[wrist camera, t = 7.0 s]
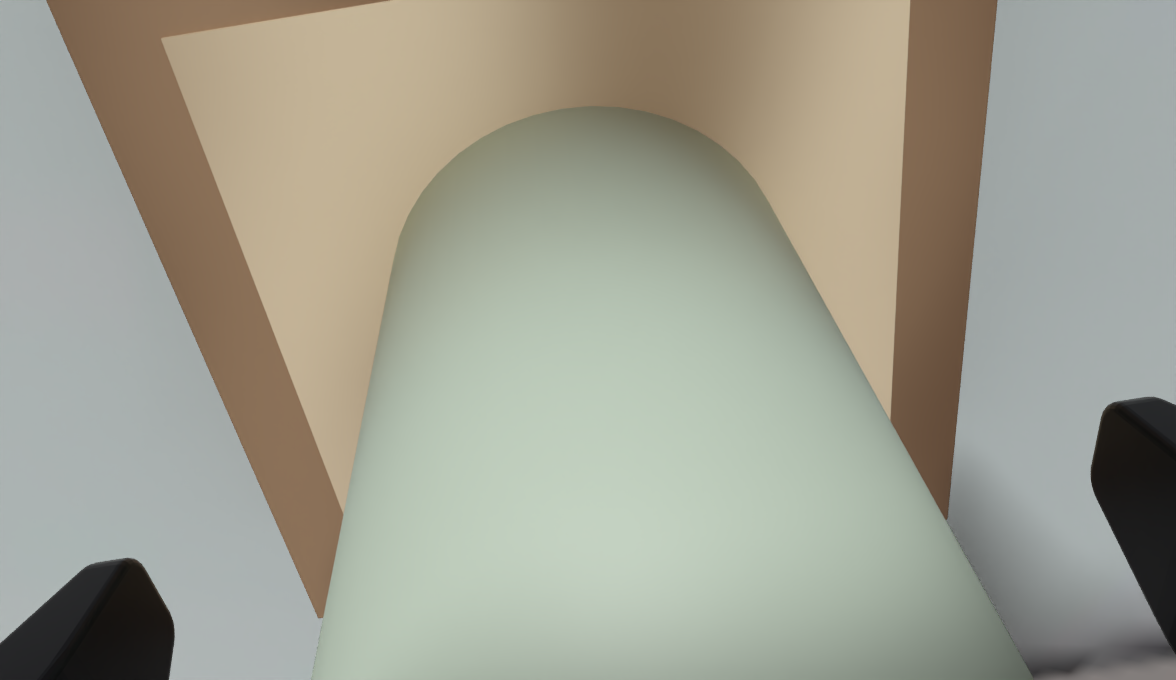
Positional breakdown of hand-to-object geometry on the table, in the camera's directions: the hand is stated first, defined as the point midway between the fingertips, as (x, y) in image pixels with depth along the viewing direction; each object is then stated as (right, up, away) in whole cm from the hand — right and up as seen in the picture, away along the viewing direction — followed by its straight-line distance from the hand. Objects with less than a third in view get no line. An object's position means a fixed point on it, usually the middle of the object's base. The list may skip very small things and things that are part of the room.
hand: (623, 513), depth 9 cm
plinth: (0, +3, +5) cm, 6 cm away
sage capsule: (0, +2, +3) cm, 4 cm away
